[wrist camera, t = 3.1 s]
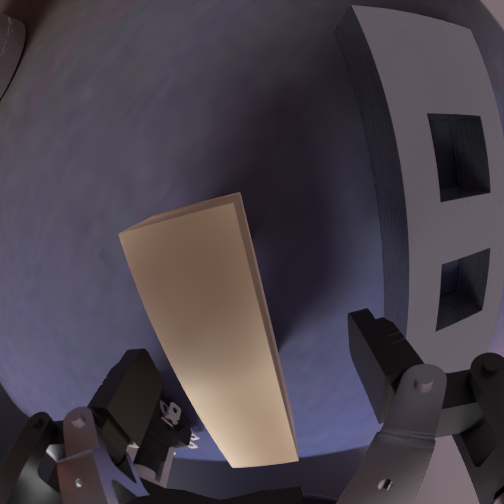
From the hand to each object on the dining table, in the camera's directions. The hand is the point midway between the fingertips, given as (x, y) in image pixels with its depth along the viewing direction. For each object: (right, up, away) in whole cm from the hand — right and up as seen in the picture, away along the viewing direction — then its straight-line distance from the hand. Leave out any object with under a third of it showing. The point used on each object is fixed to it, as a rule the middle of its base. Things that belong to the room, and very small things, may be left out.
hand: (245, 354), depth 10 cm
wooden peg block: (0, +2, +5) cm, 5 cm away
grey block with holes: (+11, +6, +3) cm, 13 cm away
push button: (-6, -8, +8) cm, 13 cm away
